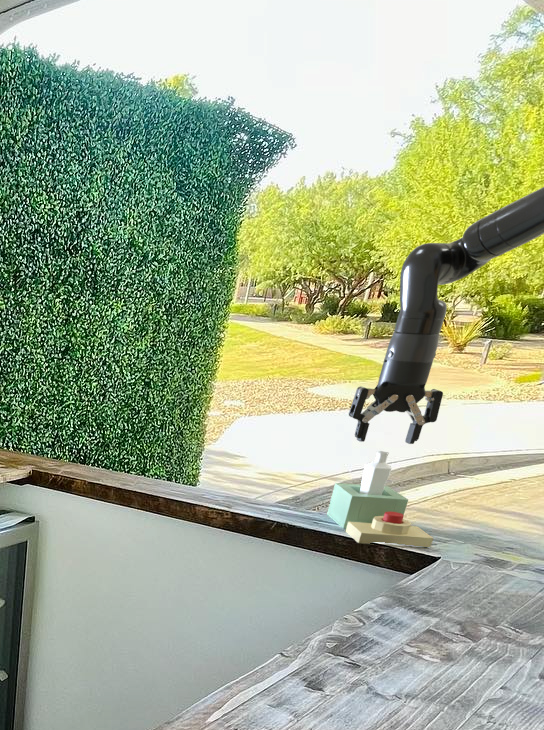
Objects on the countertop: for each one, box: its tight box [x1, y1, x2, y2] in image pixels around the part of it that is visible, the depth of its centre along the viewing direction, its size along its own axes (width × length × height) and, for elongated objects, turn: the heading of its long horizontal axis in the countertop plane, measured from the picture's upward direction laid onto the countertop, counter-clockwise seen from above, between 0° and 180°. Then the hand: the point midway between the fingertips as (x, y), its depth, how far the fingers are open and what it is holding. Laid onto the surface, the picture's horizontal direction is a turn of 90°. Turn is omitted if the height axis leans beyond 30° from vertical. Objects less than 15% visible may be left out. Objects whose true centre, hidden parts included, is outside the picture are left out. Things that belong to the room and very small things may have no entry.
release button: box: [383, 512, 405, 524], centre depth 147 cm, size 3×3×2 cm
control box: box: [345, 516, 434, 548], centre depth 148 cm, size 12×7×4 cm, turn 75°
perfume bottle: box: [359, 450, 393, 495], centre depth 155 cm, size 5×4×15 cm
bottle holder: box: [326, 482, 409, 530], centre depth 156 cm, size 10×10×7 cm
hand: (384, 441), depth 151 cm, fingers open, 8 cm apart
